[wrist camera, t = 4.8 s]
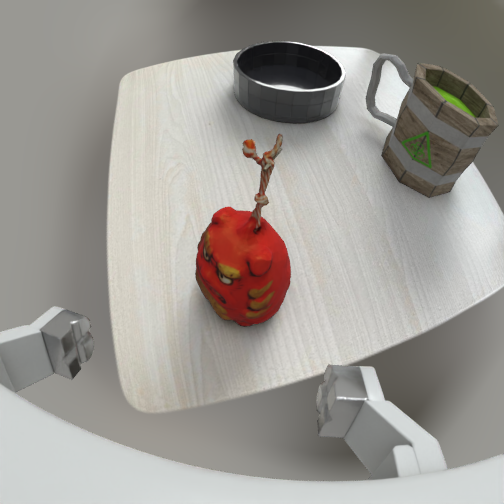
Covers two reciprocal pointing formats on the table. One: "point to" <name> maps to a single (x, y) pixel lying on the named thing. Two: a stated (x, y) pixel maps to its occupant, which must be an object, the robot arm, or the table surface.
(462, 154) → the mug
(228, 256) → the red clay folk toy
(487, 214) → the table surface
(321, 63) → the pan
